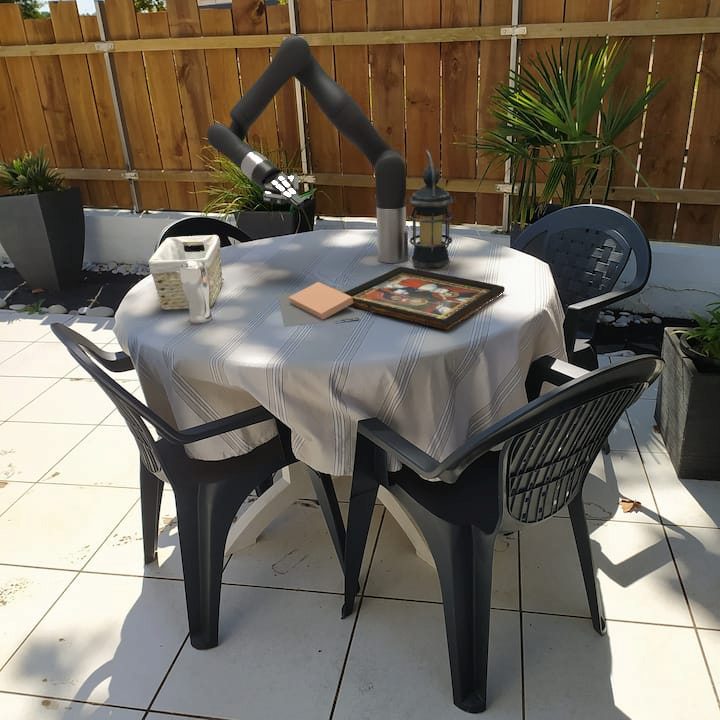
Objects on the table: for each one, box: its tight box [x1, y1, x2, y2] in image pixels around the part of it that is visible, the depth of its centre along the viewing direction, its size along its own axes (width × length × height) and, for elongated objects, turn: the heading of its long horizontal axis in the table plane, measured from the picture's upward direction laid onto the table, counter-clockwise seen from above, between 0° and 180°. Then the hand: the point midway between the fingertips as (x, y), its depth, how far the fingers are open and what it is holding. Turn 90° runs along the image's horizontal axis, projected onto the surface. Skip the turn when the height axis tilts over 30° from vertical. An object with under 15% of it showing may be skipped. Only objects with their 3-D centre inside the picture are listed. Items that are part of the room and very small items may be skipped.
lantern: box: [408, 149, 454, 269], centre depth 197 cm, size 14×13×35 cm
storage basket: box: [148, 234, 224, 311], centre depth 186 cm, size 24×16×15 cm
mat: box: [276, 287, 360, 327], centre depth 176 cm, size 19×24×1 cm
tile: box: [289, 281, 353, 320], centre depth 174 cm, size 2×10×16 cm
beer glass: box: [179, 261, 214, 325], centre depth 169 cm, size 7×7×15 cm
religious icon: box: [343, 266, 505, 330], centre depth 178 cm, size 38×35×3 cm
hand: (301, 205), depth 182 cm, fingers closed
